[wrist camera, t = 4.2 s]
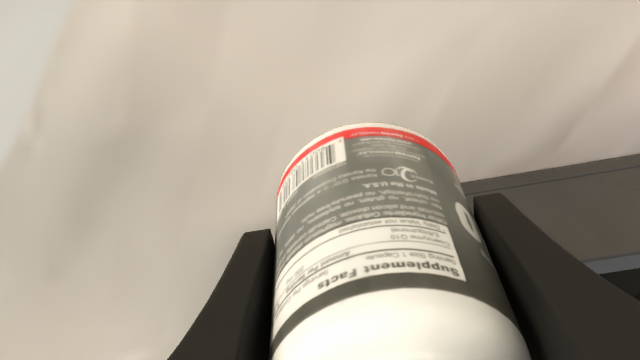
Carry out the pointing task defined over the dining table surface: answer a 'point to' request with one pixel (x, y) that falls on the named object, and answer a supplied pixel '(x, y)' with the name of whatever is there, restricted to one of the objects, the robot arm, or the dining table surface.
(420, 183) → the pill bottle
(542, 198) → the dark open box
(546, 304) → the robot arm
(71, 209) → the dining table surface
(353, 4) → the dining table surface
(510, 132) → the dining table surface
